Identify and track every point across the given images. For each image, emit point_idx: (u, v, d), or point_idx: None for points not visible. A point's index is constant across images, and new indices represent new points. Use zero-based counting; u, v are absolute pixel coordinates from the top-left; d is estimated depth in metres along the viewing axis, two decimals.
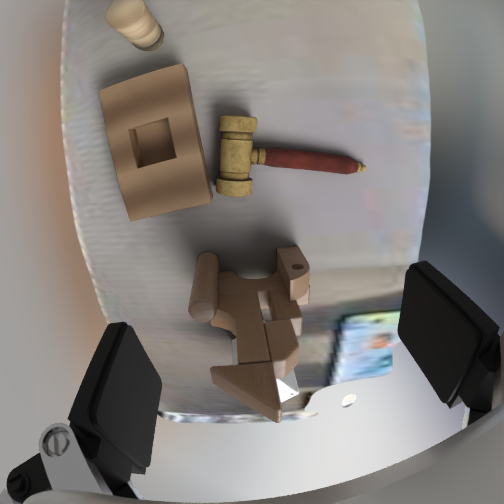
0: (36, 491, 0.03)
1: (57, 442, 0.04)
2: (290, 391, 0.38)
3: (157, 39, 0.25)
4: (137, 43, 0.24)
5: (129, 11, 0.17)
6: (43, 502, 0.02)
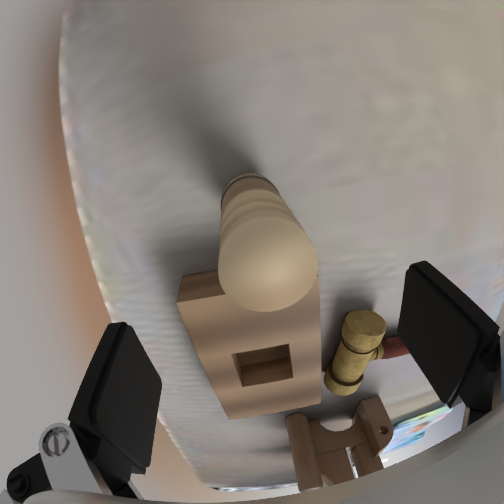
0: (36, 491, 0.03)
1: (57, 442, 0.04)
2: None
3: None
4: None
5: (285, 278, 0.11)
6: (43, 502, 0.02)
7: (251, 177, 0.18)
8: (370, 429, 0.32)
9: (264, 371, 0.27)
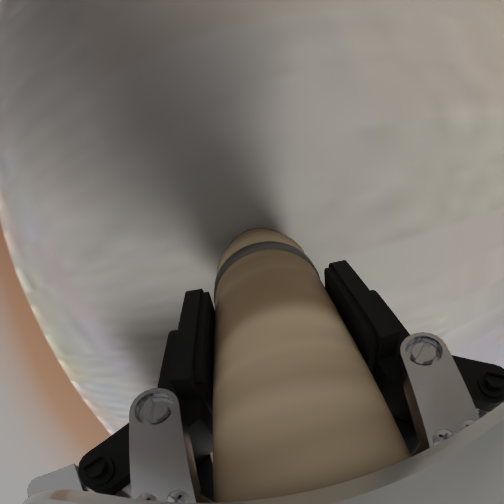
0: (124, 472, 0.04)
1: (153, 409, 0.05)
2: None
3: None
4: None
5: None
6: (43, 502, 0.02)
7: (270, 249, 0.10)
8: None
9: None
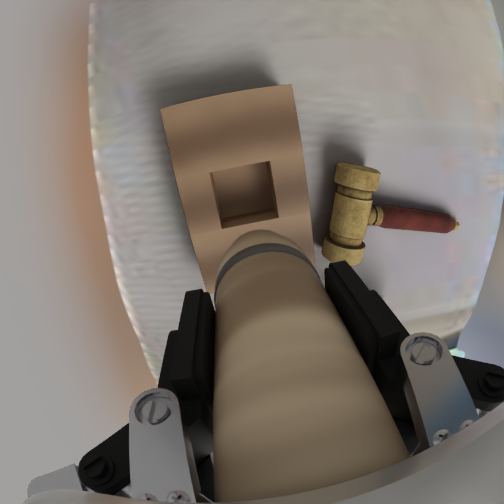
0: (124, 472, 0.04)
1: (152, 409, 0.05)
2: None
3: None
4: None
5: None
6: (43, 502, 0.02)
7: (270, 251, 0.10)
8: None
9: (247, 217, 0.27)
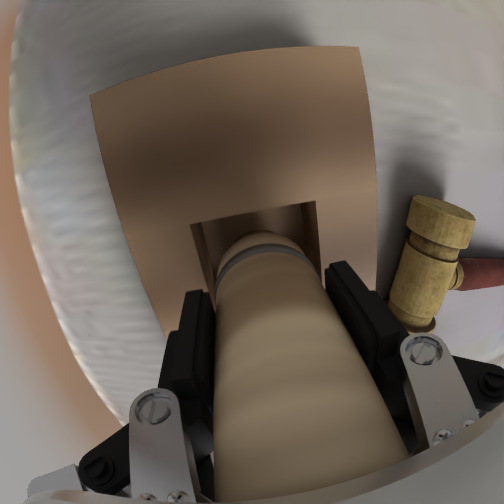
0: (124, 472, 0.04)
1: (153, 409, 0.05)
2: None
3: None
4: None
5: None
6: (43, 502, 0.02)
7: (270, 251, 0.10)
8: None
9: None
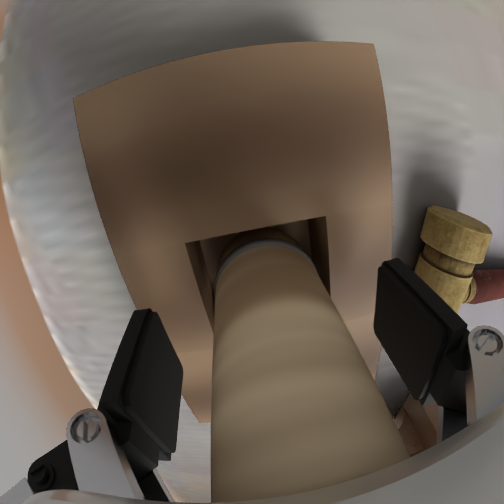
0: (62, 482, 0.03)
1: (86, 428, 0.05)
2: None
3: None
4: None
5: None
6: (43, 502, 0.02)
7: (269, 245, 0.10)
8: (431, 430, 0.18)
9: None
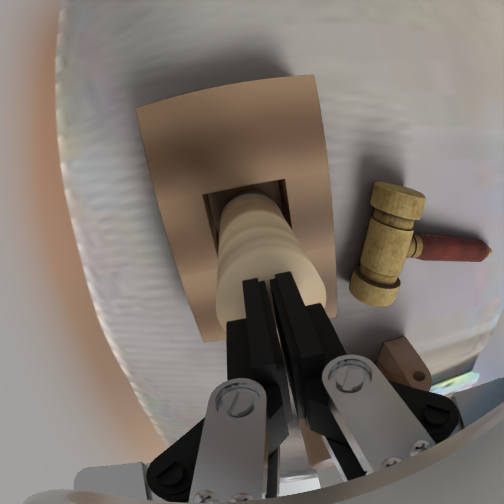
0: None
1: (234, 401, 0.05)
2: None
3: None
4: None
5: None
6: (43, 502, 0.02)
7: (251, 195, 0.17)
8: (401, 376, 0.25)
9: None
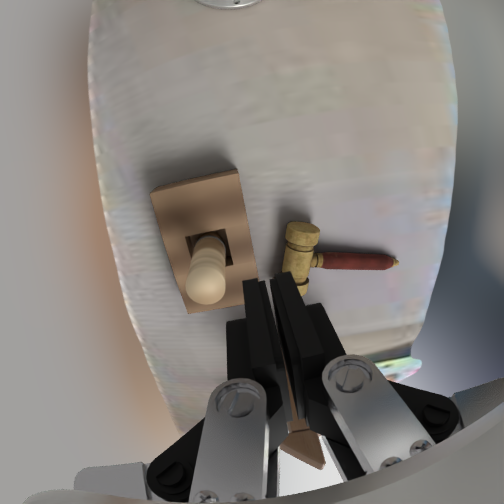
0: None
1: (234, 401, 0.05)
2: None
3: None
4: None
5: (212, 290, 0.28)
6: (43, 502, 0.02)
7: (208, 237, 0.35)
8: None
9: None
